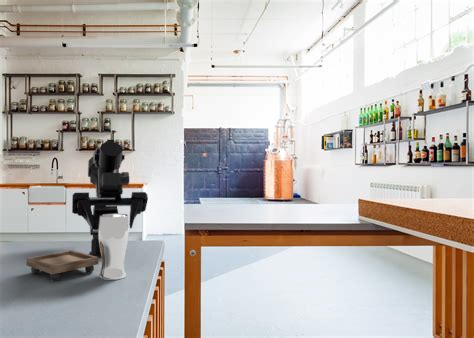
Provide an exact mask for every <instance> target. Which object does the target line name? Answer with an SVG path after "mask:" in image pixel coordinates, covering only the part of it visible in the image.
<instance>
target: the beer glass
mask: <svg viewBox="0 0 474 338" xmlns="http://www.w3.org/2000/svg"><path fill="white" fill-rule="evenodd" d="M98 233H99V246H100V252H101V256H100V257H101V269H100V273H99V279H101V280H103V281H116V280H122V279H124V278H125V277H126V276H127V274H126V273H127V272H126V266H125V260H126V259H125V258H126V251H127V247H128V242H129V241H128V240H129V215H128V213H127V214H126V213H118V214H103V215H100V220H99V232H98Z"/></svg>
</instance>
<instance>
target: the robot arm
mask: <svg viewBox="0 0 474 338" xmlns="http://www.w3.org/2000/svg"><path fill="white" fill-rule="evenodd" d="M123 148H124V147H123V146H122V145H121V144H119V143H117V142H115V139H106V142H104V143H102V144H101V145H100V147H96V149H95V150H94V151H93V155H92V156H91V158H89V159H88V162H87V164H88V165H87V177H88V178H89V181H90V183H91V184H92V185H94V186H95V196H92V197H91V196H90V192H86V191H84V192H73V194H72V204H71V206H72V207H71V208H72V209H71V212H72V214H74V215H77V216H79V217H82V218H83V219H84V220H85V221H86V223H87V225H88V226H89V234H90V236H92V239H91V246H90V248H91V250H90V251H89V255H92V256H96V257H101V252H100V246H99V233H98V232H99V220H100V215H103V214H119V210H118V207H129V209H130V211H129V223H128V226H129V229H132V228H133V226H134V222H135V219H136V217H137V215H140V214H141V213H143V212H146V209H147V205H148V199H149V197H148V193H147V192H145V191H132V192H131V196H130V197H122V195H123V192H124V190H123V186H129V184H130V173H129V171H121V172H120V169H121V165H122V164H123V162H124V161H125V154H123V150H124V149H123ZM92 206H93V207H92ZM92 209H93V210H92Z"/></svg>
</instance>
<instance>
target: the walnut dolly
mask: <svg viewBox="0 0 474 338" xmlns="http://www.w3.org/2000/svg"><path fill="white" fill-rule="evenodd" d="M98 265H99V256H97V255H93V254H88V253H84V252H81V251H76V250H72V249H70V250H66V251H60V252H55V253H49V254H44V255H37V256H31V257H26V266H27V267H30V270H31V273H32V275H35V274H39V273H40V272H41V271H42V272H44V273H47V274H50V280H51V282H55V281H58V280H60V277H61V275H60V273H65V272H69V271H70V272H71V271H76V270H78V269H83V268H84V270H85V272H86V273H87V274H90V273H94V272H95V271H94V270H95V266H98Z"/></svg>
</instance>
